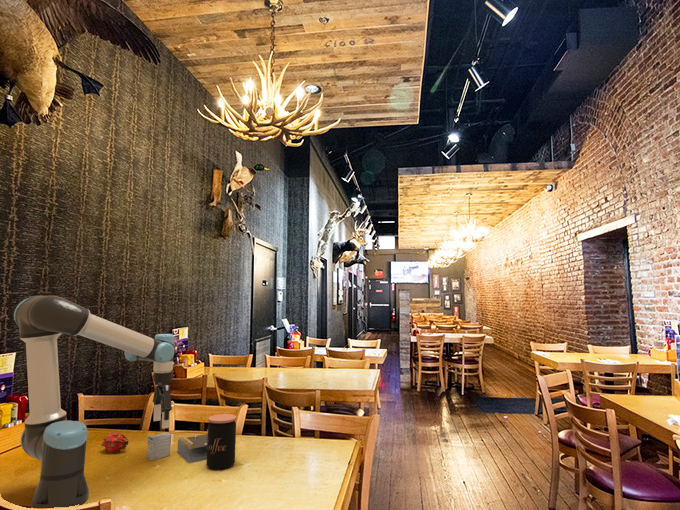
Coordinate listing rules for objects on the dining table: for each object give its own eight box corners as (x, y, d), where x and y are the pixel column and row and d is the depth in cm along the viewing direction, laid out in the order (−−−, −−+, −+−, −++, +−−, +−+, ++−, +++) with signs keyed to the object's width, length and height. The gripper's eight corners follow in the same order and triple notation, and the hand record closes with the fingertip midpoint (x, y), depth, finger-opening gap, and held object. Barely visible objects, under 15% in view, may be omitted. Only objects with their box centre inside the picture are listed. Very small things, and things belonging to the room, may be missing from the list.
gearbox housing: (230, 454, 176) (230, 436, 177) (189, 463, 166) (189, 444, 167) (216, 444, 188) (217, 428, 189) (177, 451, 178) (178, 434, 179)
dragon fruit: (103, 453, 181) (125, 460, 177) (92, 446, 175) (114, 453, 171) (116, 433, 187) (137, 440, 183) (105, 426, 180) (127, 433, 177)
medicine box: (164, 453, 176) (166, 431, 178) (170, 455, 174) (171, 433, 175) (146, 458, 170) (147, 436, 172) (151, 461, 168) (153, 438, 169)
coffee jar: (200, 467, 161) (202, 418, 163) (220, 459, 170) (221, 412, 172) (221, 473, 156) (223, 422, 158) (240, 463, 165) (242, 415, 167)
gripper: (181, 374, 169) (179, 429, 166) (164, 367, 189) (162, 416, 186) (161, 376, 164) (159, 433, 162) (146, 368, 184) (144, 419, 182)
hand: (161, 424), depth 174 cm, fingers open, 13 cm apart
